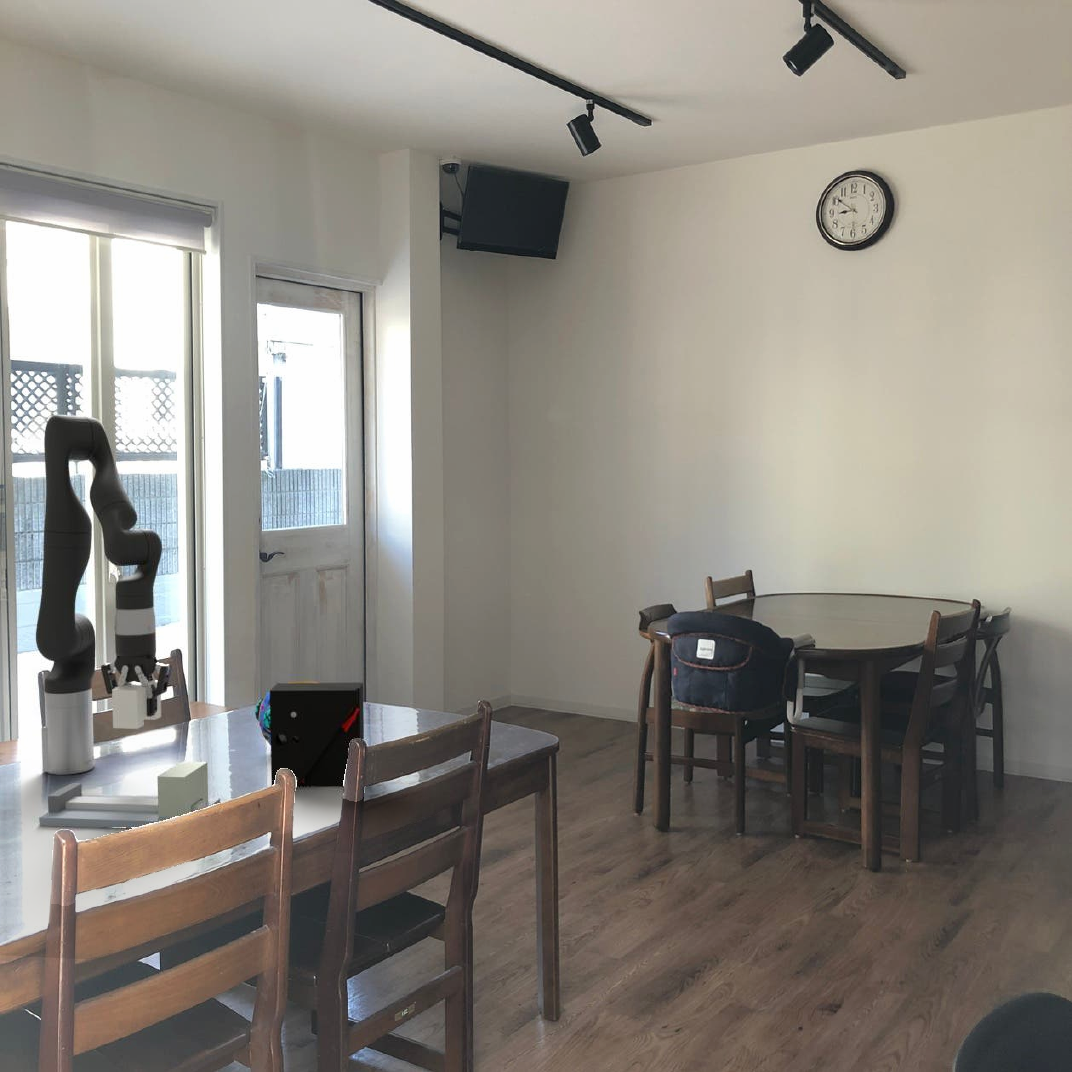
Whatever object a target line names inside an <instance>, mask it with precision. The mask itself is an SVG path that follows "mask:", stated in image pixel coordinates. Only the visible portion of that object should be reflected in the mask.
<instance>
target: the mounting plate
mask: <svg viewBox="0 0 1072 1072" xmlns="http://www.w3.org/2000/svg"><path fill="white" fill-rule="evenodd" d="M208 771H209V770H208V761H188V760H187V761H185V760H184V761H181V762H179V763H177V764H175V765H174V766H172V767H170V768H169V769H167V770H166V771H164V772H162V773H160V774H159V775H158V776H157V796H156V795H127V794H126V795H125V794H120V795H119V794H97V793H95V794H89V793H83V783H77V782H76V783H75V782H71V783H69V784H67V785H66V786H64V787H61V788H60V789H58V790H56V791H55V792H53V793H51V794H49V795H47V804H48V805H47V806H48V807H47V808H48V809H47V810H48V812H46V813H45V814H43V815H40V816H39V817H38V819H39V821H38V823H39V824H38V825H39V826H40V827H41V826H42V827H44V826H46V827H66V826H68V827H69V828H70V827H73V828H95V827H107V828H106V829H110V828H109V827H126V828H131V827H139V826H142V825H146V824H149V823H154V822H159V821H163V820H166V819H170V818H172V817H175V816H181V815H183V814H187V813H189V812H193V811H195V810H200V809H203V808H206V807H208V806H211V805H213V804H217V803H220V804H221V798H220V797H209V774H208Z"/></svg>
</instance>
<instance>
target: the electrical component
mask: <svg viewBox="0 0 1072 1072" xmlns="http://www.w3.org/2000/svg"><path fill="white" fill-rule="evenodd" d="M269 691H270V730H271V745H270V765H271V766H270V768H271V769H270V770H271V772H270V774H271V776H270V777H271V779H270V780H271V782H270V783H271V786H272V785H273V784H274V780H275V775H276V772H277V770H279V769H280V768H288V769H290V770H292V771H293V773H294V774H295V776H296V780H297V788H296V789H299V788H334V787H335V788H344V787H343V780H344V774H345V769H346V764H347V759H348V748H349V743H350V741H351V740H352V739H354V738H361V739H364V740H365V734H364V733H365V729H364V727H365V724H364V723H365V722H364V720H365V718H364V717H365V716H364V715H365V714H364V711H365V710H364V682H360V681H358V682H317V683H290V682H280V683H279V682H277V683H276V684H275V685H274V686H272V688H271V689H269Z"/></svg>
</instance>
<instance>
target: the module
mask: <svg viewBox="0 0 1072 1072" xmlns="http://www.w3.org/2000/svg"><path fill="white" fill-rule="evenodd" d="M147 681H148V680H147ZM155 682H156V683H155V685H156V687H157V682H158V679H155ZM111 695H112V697H111V698H112V699H111V701H112V729H128V730H129V729H131V730H133V729H134V730H139V729H140V728H143V727H144V726H145V724H144V720H149V721H150V720H152V721H153V720H154V721H155V720H158V719H160V718H161V717H162V697H161V696H162V694H161V695H158V697H157V712H156V713H155V715H153V716H151V717H147V698H148V697H147V695H146V687H142V685H141V683H140V682H136V681H132V683H130V684H128V685H126V686H121V687H118V688H116V689H113V690H112V694H111Z"/></svg>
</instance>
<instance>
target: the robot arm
mask: <svg viewBox="0 0 1072 1072" xmlns="http://www.w3.org/2000/svg"><path fill="white" fill-rule="evenodd" d="M43 440H44V441H43V444H44V467H45V470H44V471H45V511H44V512H45V515H44V525H43V526H44V527H43V543H42V544H43V545H42V546H43V548H42V550H43V556H42V557H43V558H42V559H43V561H42V575H41V576H42V577H41V578H42V579H41V594H40V604H39V608H38V616H37V623H36V630H35V643H36V647H37V649H38V653H40V654H41V655H42V657H43V658H44V659H46V660H47V661H50V662H53V665H52V668H51V670H50V672H49V673H48V674H47V676H46V677H45V678H44V680H43V681H44V683H43V685H44V690H43V691H44V710H45V711H44V715H45V725H44V726H42V727H41V730H40V731H41V753H42V755H41V757H42V773H48V774H51V775H59V776H63V775H72V774H73V775H74V774H80V773H84V772H87V771H90V770H92V769H94V767H95V764H94V763H95V756H94V720H93V719H94V717H93V714H94V713H93V691H92V690H93V689H92V687H93V686H92V683H93V678H94V676H95V672H96V644H97V642H96V641H97V640H96V632H95V629H94V626H93V623H92V621H91V620H90V619H89V618H88V617H87V616H85V615H84V614H81V613H78V612H77V613H76V602H77V601H76V599H77V593H78V590H79V587H80V584H81V582H82V579H83V577H84V574H85V572H86V571H87V570H86V569H87V567H88V564H89V561H90V558H91V557H90V556H91V552H92V538H93V537H92V536H93V533H92V532H93V524H92V520H91V517H90V515H89V513H88V512H87V511H88V510H86V508H85V506H84V505H83V503H82V501H81V500H80V498H79V496H78V495H77V492H76V491H75V489H74V486H73V483H72V480H71V476H70V475H71V474H70V460H71V461H89V462H90V463H91V465H92V466H93V467H94V470H95V473H94V477H93V479H92V482H91V485H90V489H89V501H90V504H91V507H92V509H93V512H94V513H95V515H96V517H97V520H98V521H99V523H100V525H101V526H100V527H101V531H102V538H103V549H104V555H105V557H106V559H107V560H108V561H109V563H111V564H112V565H114V566H117V567H128V566H131V567H132V566H136V567H135V568H136V569H135V571H134V573H133V574H132V575H130V576H126V577H123V578H121V579H119V580H117V581H116V582H115V617H114V638H115V639H114V644H115V645H114V646H115V649H114V650H115V656H116V657H115V660H114V662H108V663H104V664H102V665H101V666H100V670H101V674H102V679H103V681H104V686H105V691H106V693H107V694H108V695H112V690H113V689H116V688H118V687H121V686H126V685H128V684H130V683H132V682H133V681H136V682H140V683H141V685H142V687H146V695H147V697H148V698H147V717H151V716H153V715H155V713H156V712H157V697H158V695H161V696H162V694H166V692H167V691H168V686H169V682H170V676H171V672H172V664H171V663H166V664H165V663H160V662H159V661H158V660H157V656H156V654H157V639H156V638H157V635H156V633H157V632H156V615H155V614H156V613H155V605H154V603H155V599H154V595H155V594H154V586H155V582H156V577H157V572H158V568H159V564H160V561H161V557H162V553H163V545H162V540H161V537H160V535H159V534H158V533H157V532H156V531H155V530H153V529H150V528H149V529H148V528H144V529H143V528H142V529H133V527H135V526H136V523H137V522H138V515H137V512H136V509H135V507H134V505H133V504H132V501H131V499H130V498H129V495H128V494H127V492H126V490H125V489H124V488H125V487H124V486H123V484H122V482H121V478H120V476H119V475H120V474H119V471H118V468H117V463H116V459H115V457H114V454H113V453H114V452H113V450H112V447H111V442H110V440H109V437H108V434H107V431H106V429H105V426H104V425H103V424H102V422H101V421H100V420H99V419H97V418H95V417H91V416H82V415H73V414H72V415H71V414H53V415H52V416H51V417H49V418H48V420H47V423H46V426H45V429H44V439H43ZM155 670H157V671H156V673H157V675H158V678H157V680H158V682H157V687H156V685H155V683H156V682H155V680H156V679H155V677H154V674H153V673H154V672H155ZM116 672H118V673H119V675H120V676H119V679H118V680H117V677H116ZM147 680H148V681H147Z"/></svg>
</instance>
